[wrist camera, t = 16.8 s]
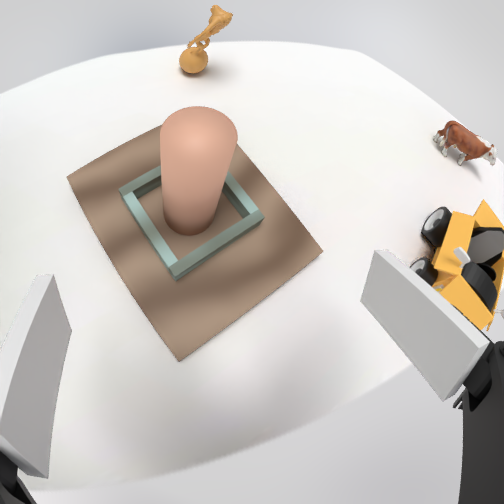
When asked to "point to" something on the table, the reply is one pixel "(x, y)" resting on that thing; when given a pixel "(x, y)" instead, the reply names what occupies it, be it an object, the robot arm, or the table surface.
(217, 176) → the pink rounded cylinder
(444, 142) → the bull figurine
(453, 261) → the race car
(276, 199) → the jig board
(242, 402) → the table surface
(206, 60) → the figurine
